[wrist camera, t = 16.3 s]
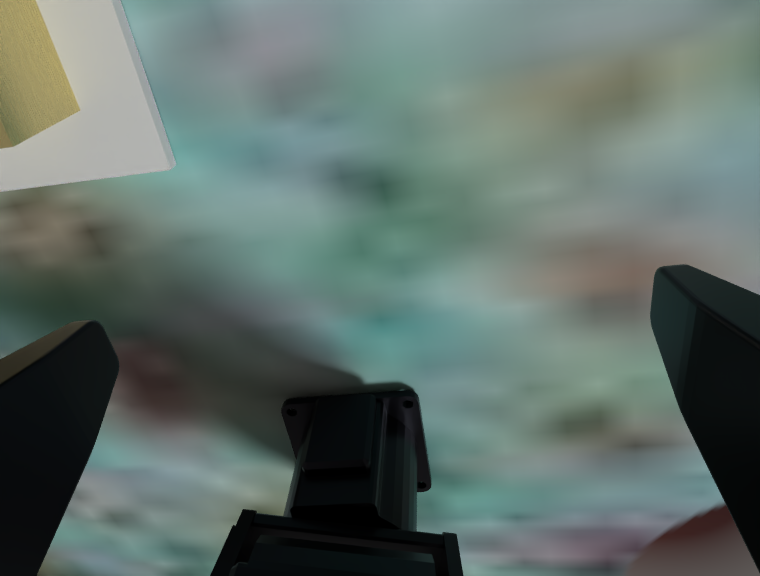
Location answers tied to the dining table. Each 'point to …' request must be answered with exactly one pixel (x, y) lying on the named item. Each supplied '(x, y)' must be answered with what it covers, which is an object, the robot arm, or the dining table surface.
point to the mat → (93, 105)
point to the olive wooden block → (29, 75)
